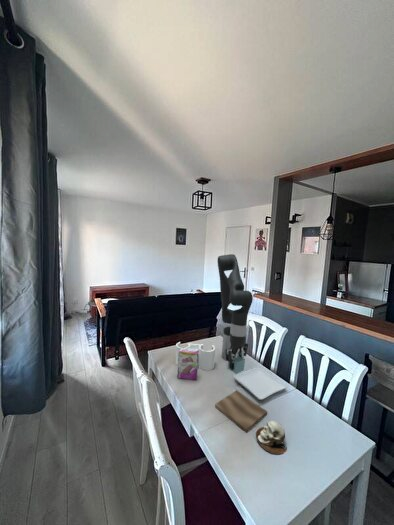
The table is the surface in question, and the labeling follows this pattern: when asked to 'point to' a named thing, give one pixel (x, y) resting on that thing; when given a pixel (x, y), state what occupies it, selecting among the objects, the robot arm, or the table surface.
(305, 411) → the table surface
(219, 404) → the walnut board
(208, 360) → the bracket
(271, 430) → the skull
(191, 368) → the candy bar box
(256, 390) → the salad plate
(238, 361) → the slate cube
